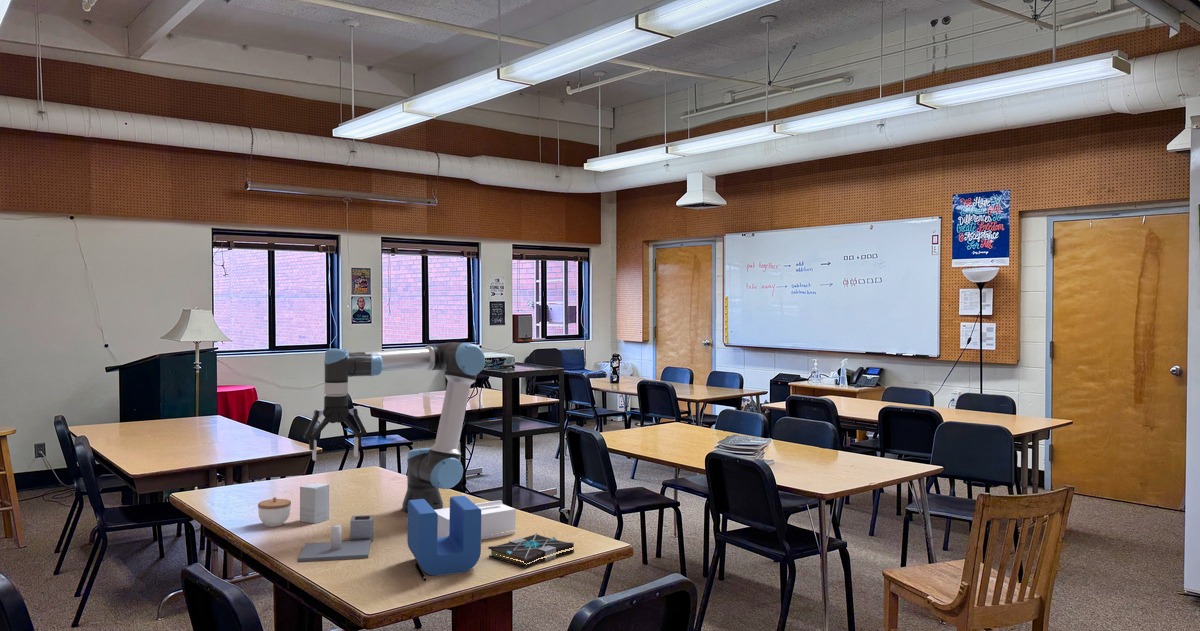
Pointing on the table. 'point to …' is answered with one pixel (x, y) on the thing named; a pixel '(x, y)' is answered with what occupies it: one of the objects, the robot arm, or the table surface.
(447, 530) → the tissue box
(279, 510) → the lidded jar
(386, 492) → the table surface
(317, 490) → the supplement box
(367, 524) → the block
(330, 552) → the plate
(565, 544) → the book
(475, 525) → the block
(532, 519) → the table surface
